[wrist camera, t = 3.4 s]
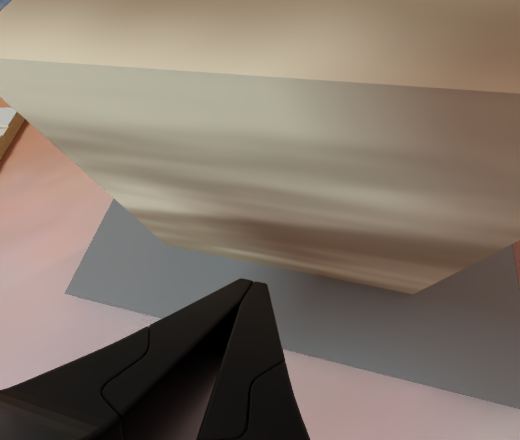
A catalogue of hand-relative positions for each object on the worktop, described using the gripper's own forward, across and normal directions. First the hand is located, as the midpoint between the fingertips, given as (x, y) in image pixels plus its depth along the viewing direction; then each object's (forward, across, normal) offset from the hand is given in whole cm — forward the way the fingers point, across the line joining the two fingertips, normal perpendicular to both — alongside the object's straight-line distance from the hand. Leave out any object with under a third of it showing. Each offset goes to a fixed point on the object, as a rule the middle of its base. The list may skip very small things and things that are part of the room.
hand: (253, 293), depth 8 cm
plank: (+8, 0, +2) cm, 8 cm away
